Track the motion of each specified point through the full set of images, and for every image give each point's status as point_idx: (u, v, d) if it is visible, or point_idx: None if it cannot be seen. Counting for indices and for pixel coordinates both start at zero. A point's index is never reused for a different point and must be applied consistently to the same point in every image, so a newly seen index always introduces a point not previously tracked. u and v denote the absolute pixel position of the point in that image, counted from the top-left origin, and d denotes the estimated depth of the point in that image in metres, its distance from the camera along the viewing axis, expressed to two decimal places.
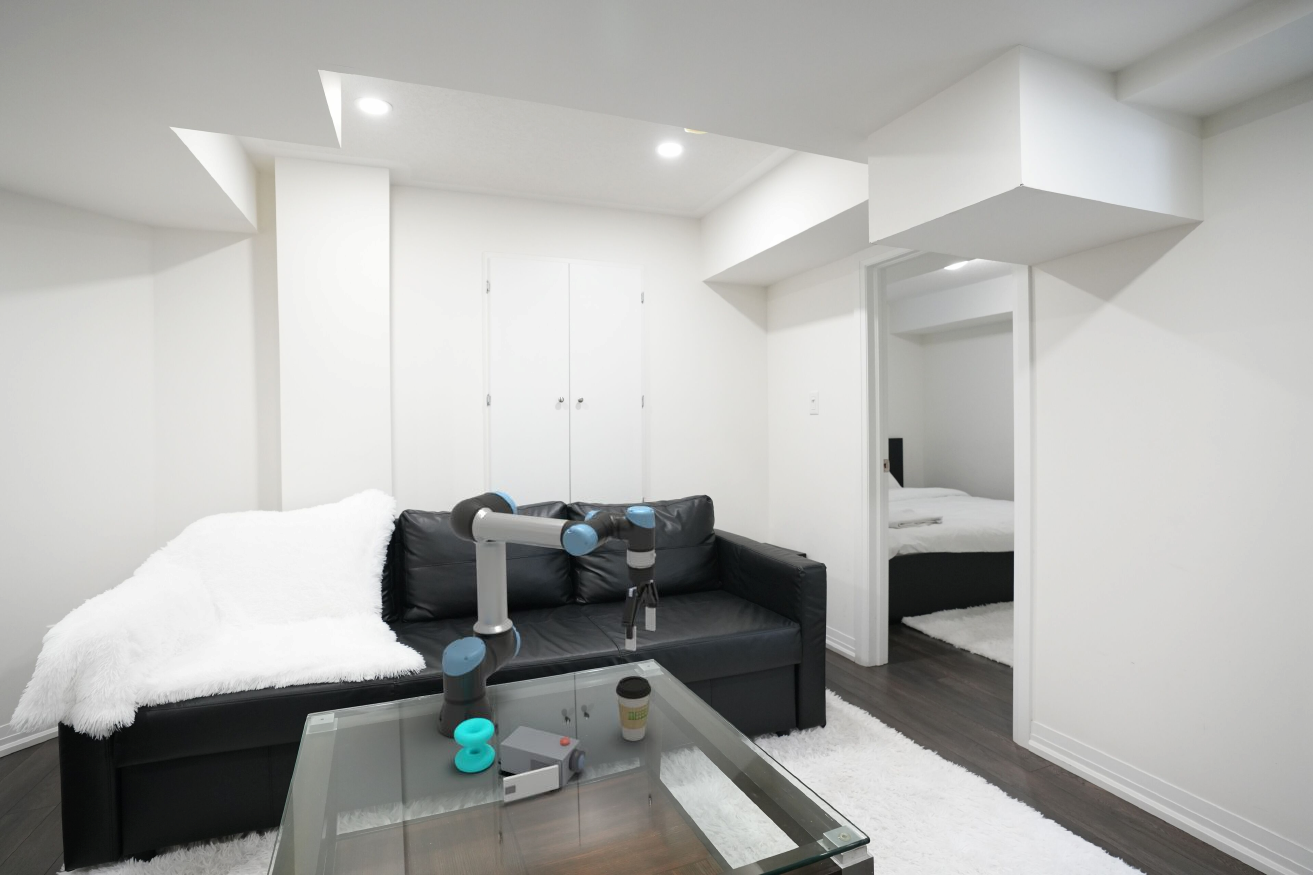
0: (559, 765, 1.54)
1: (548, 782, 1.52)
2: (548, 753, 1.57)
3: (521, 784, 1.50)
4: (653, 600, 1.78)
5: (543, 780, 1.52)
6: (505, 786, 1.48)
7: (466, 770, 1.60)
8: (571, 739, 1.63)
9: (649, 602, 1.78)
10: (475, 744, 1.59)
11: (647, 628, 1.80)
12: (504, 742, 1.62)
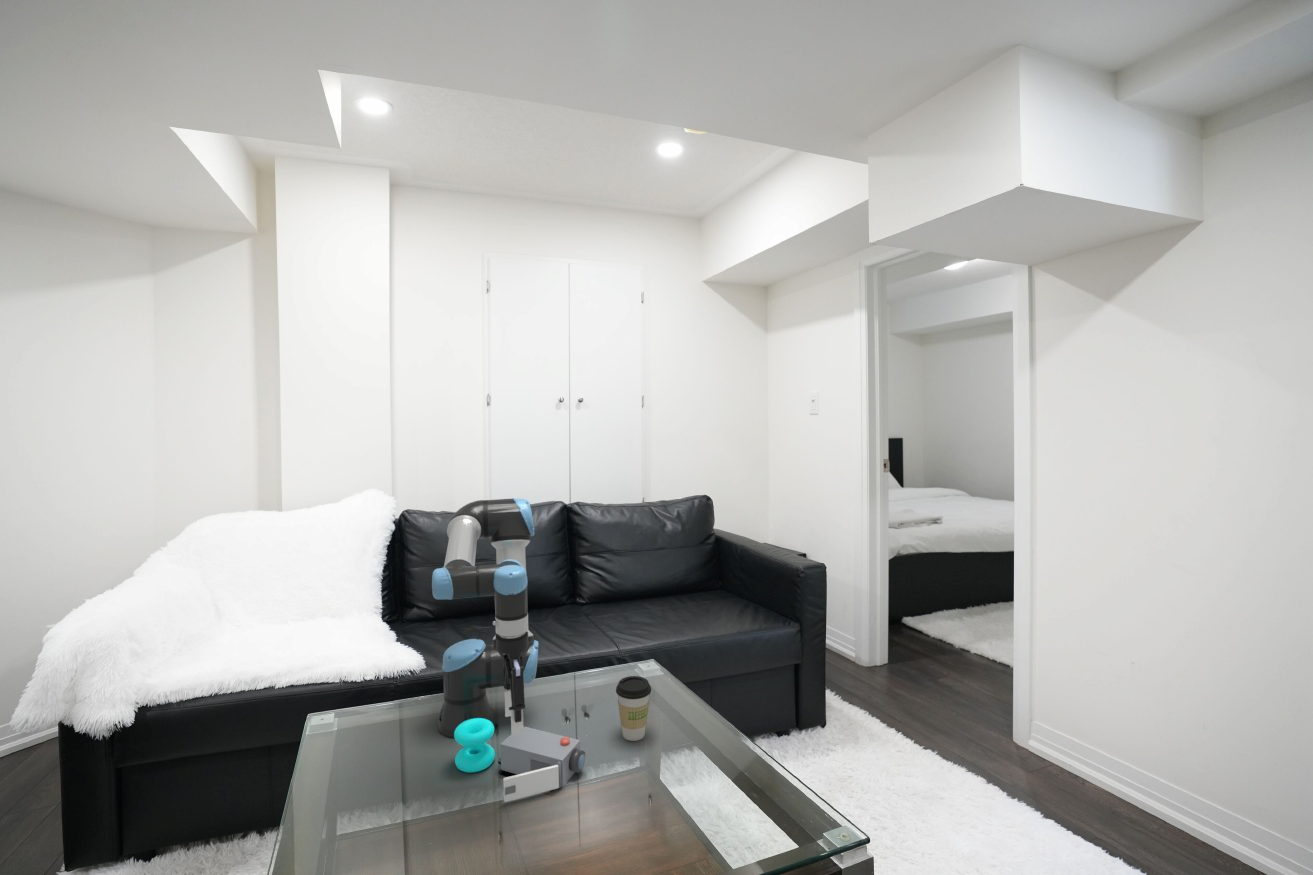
0: (559, 765, 1.54)
1: (548, 782, 1.52)
2: (548, 753, 1.57)
3: (521, 784, 1.50)
4: (511, 695, 1.47)
5: (543, 780, 1.52)
6: (505, 786, 1.48)
7: (466, 770, 1.60)
8: (571, 739, 1.63)
9: None
10: (475, 744, 1.59)
11: None
12: (504, 742, 1.62)
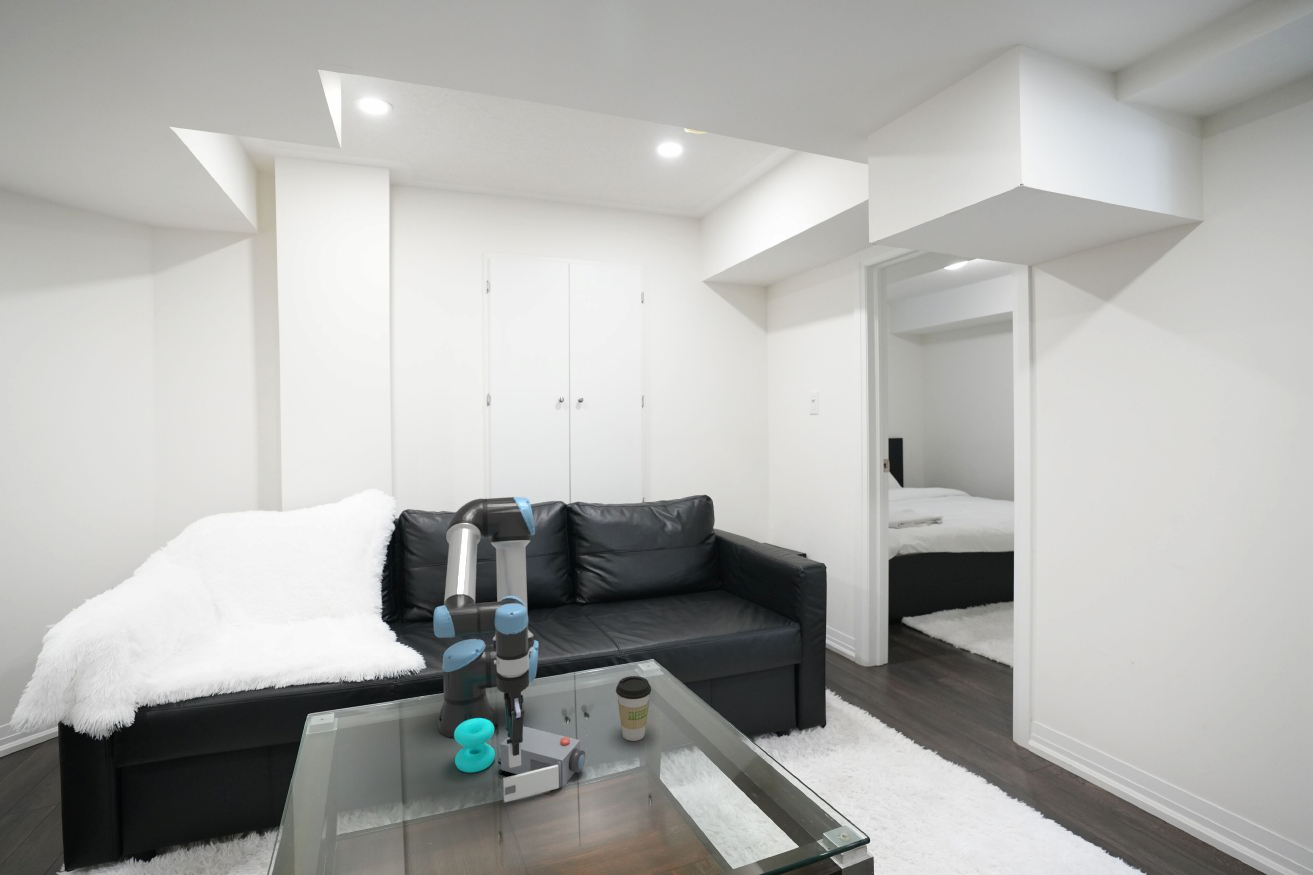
0: (559, 765, 1.54)
1: (548, 782, 1.52)
2: (548, 753, 1.57)
3: (521, 784, 1.50)
4: (510, 730, 1.50)
5: (543, 780, 1.52)
6: (505, 786, 1.48)
7: (466, 770, 1.60)
8: (571, 739, 1.63)
9: None
10: (475, 744, 1.59)
11: None
12: (504, 742, 1.62)
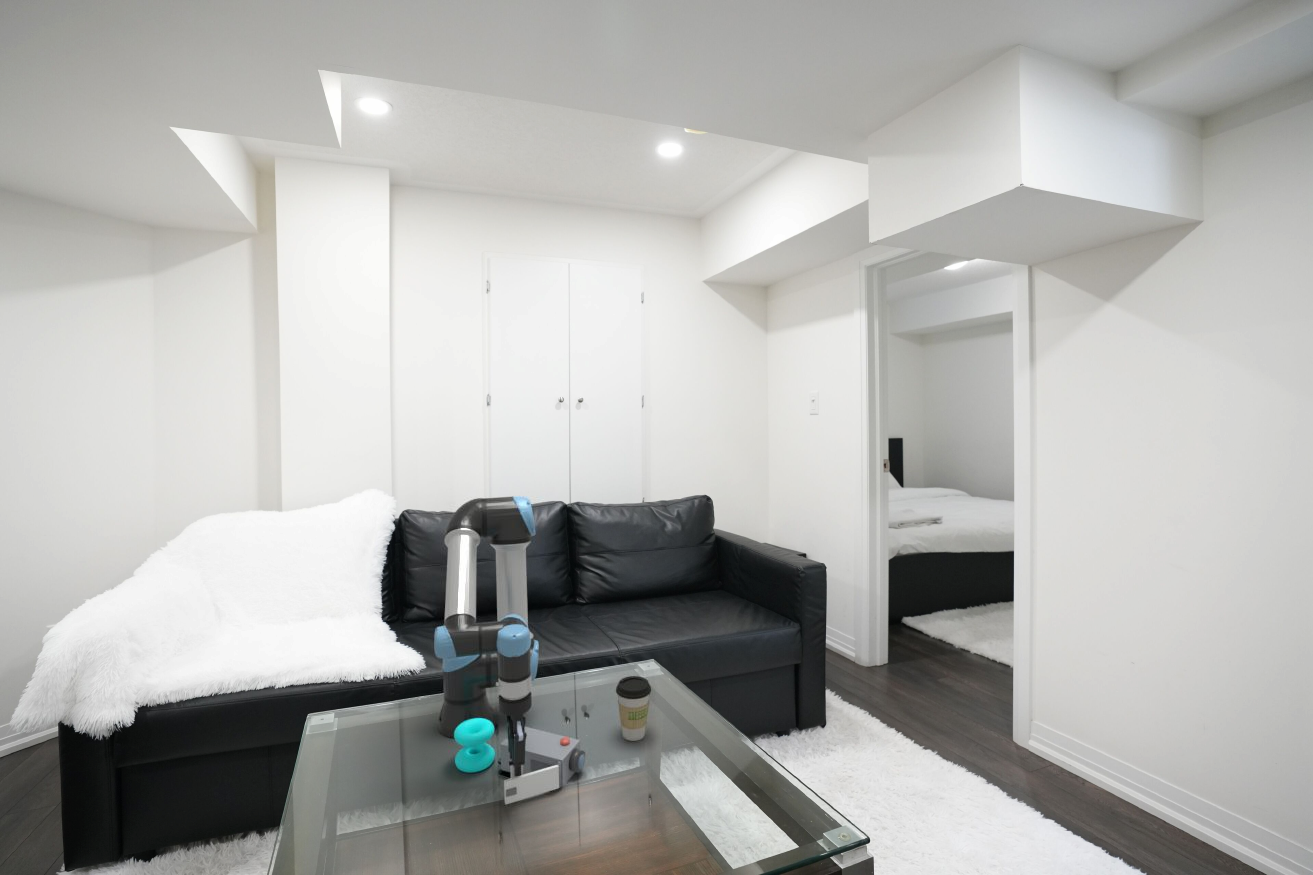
0: (559, 765, 1.54)
1: (549, 782, 1.52)
2: (548, 753, 1.57)
3: (522, 785, 1.49)
4: (512, 752, 1.49)
5: (544, 781, 1.52)
6: (506, 788, 1.47)
7: (466, 770, 1.60)
8: (571, 739, 1.63)
9: None
10: (475, 744, 1.59)
11: None
12: (504, 742, 1.62)
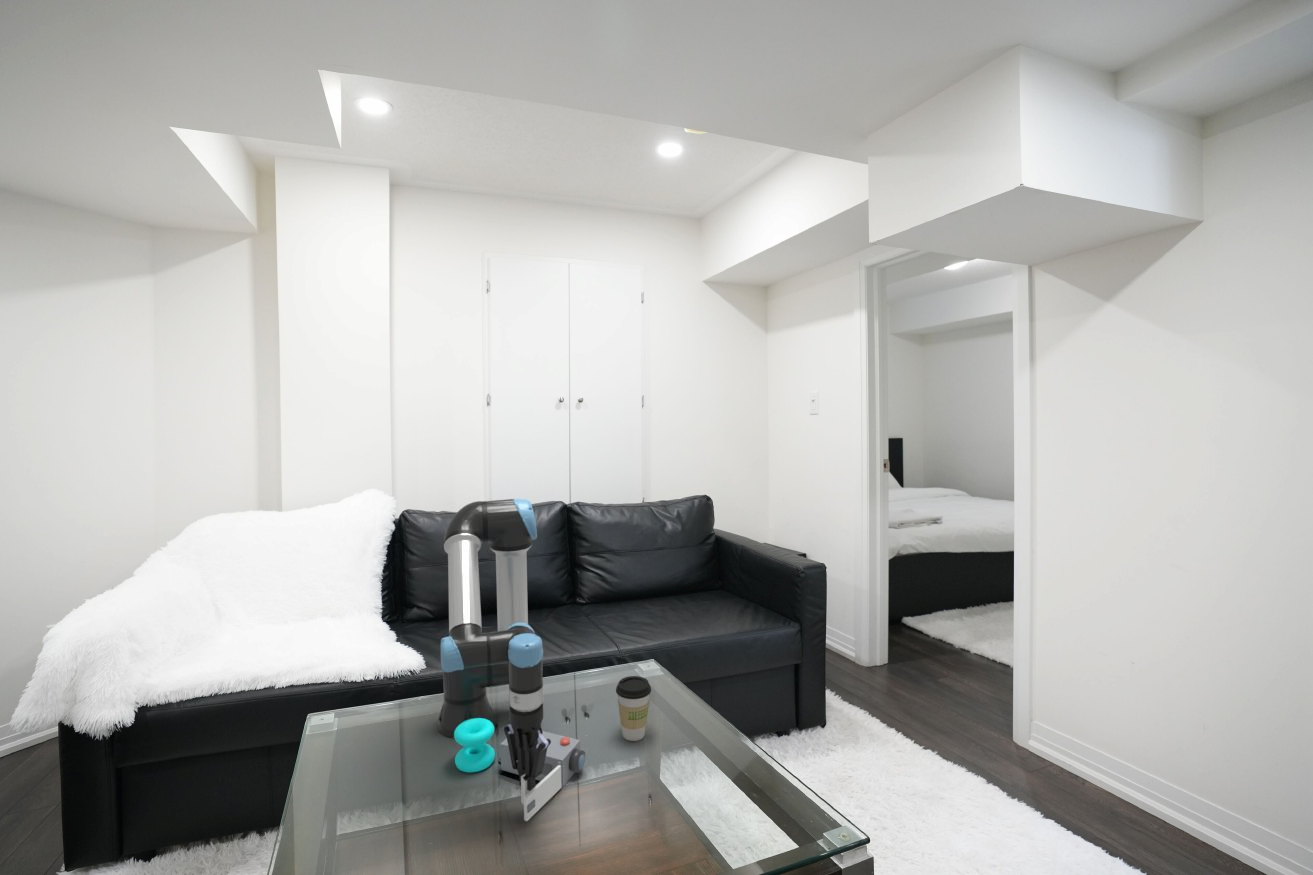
0: (560, 765, 1.54)
1: (555, 785, 1.51)
2: (548, 753, 1.57)
3: (538, 796, 1.46)
4: (527, 765, 1.44)
5: (552, 784, 1.50)
6: (527, 804, 1.42)
7: (466, 770, 1.60)
8: (571, 739, 1.63)
9: None
10: (475, 744, 1.59)
11: None
12: (504, 742, 1.62)
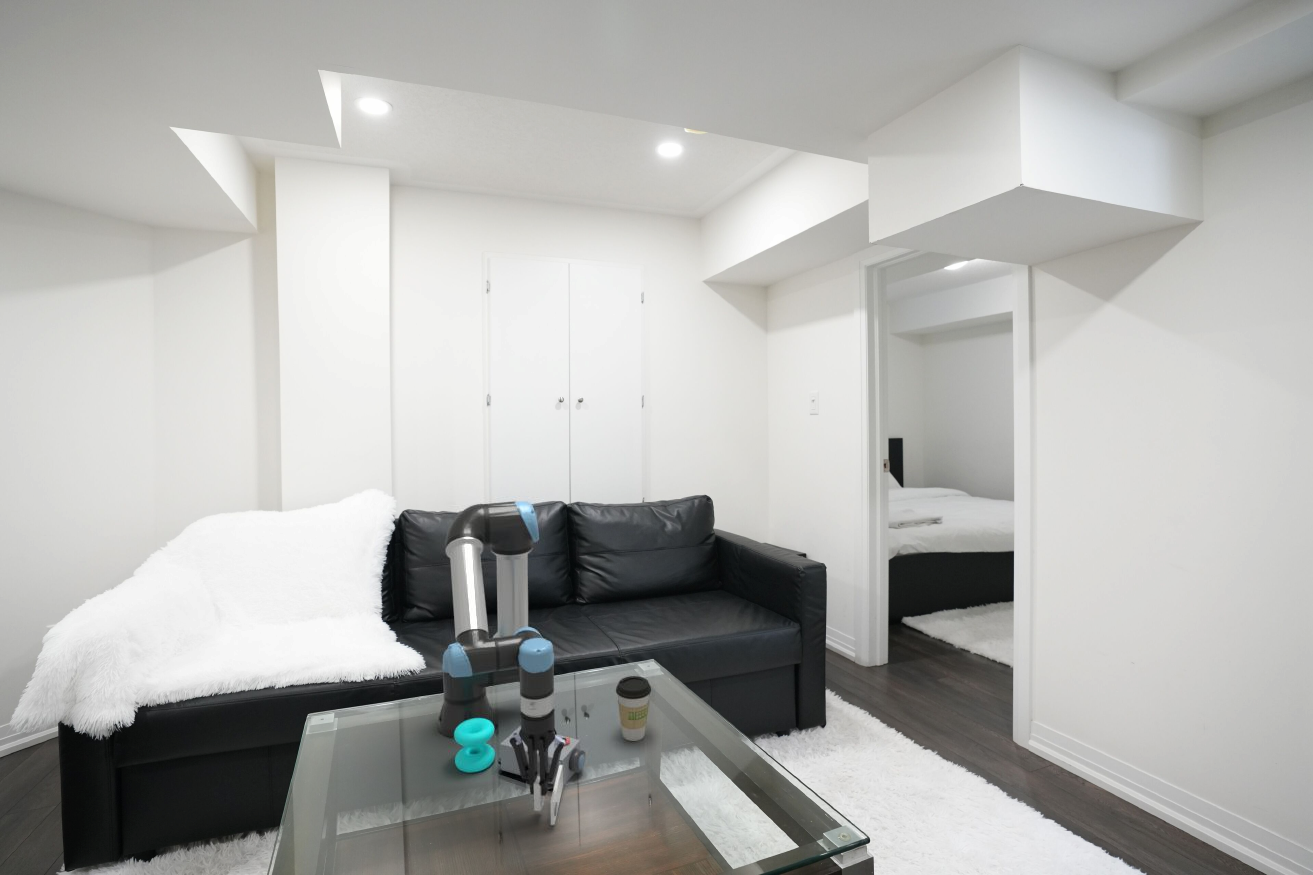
0: (560, 764, 1.54)
1: (561, 784, 1.51)
2: (548, 753, 1.57)
3: (557, 798, 1.45)
4: (542, 771, 1.43)
5: (560, 785, 1.50)
6: (554, 807, 1.41)
7: (466, 770, 1.60)
8: (571, 739, 1.63)
9: None
10: (475, 744, 1.59)
11: None
12: (504, 742, 1.62)
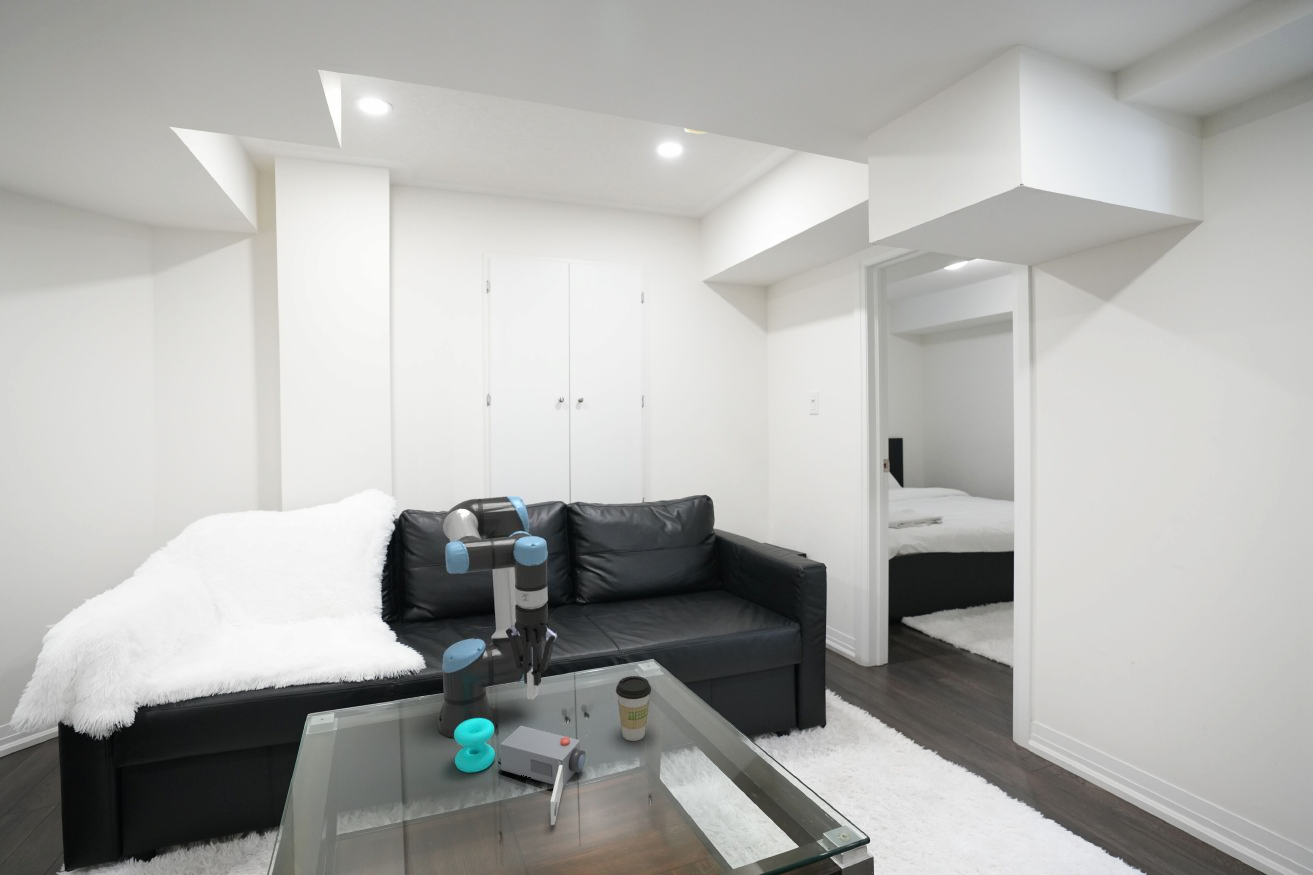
0: (560, 764, 1.54)
1: (561, 784, 1.51)
2: (548, 753, 1.57)
3: (557, 798, 1.45)
4: (534, 661, 1.50)
5: (560, 785, 1.50)
6: (554, 807, 1.41)
7: (466, 770, 1.60)
8: (571, 739, 1.63)
9: None
10: (475, 744, 1.59)
11: None
12: (504, 742, 1.62)
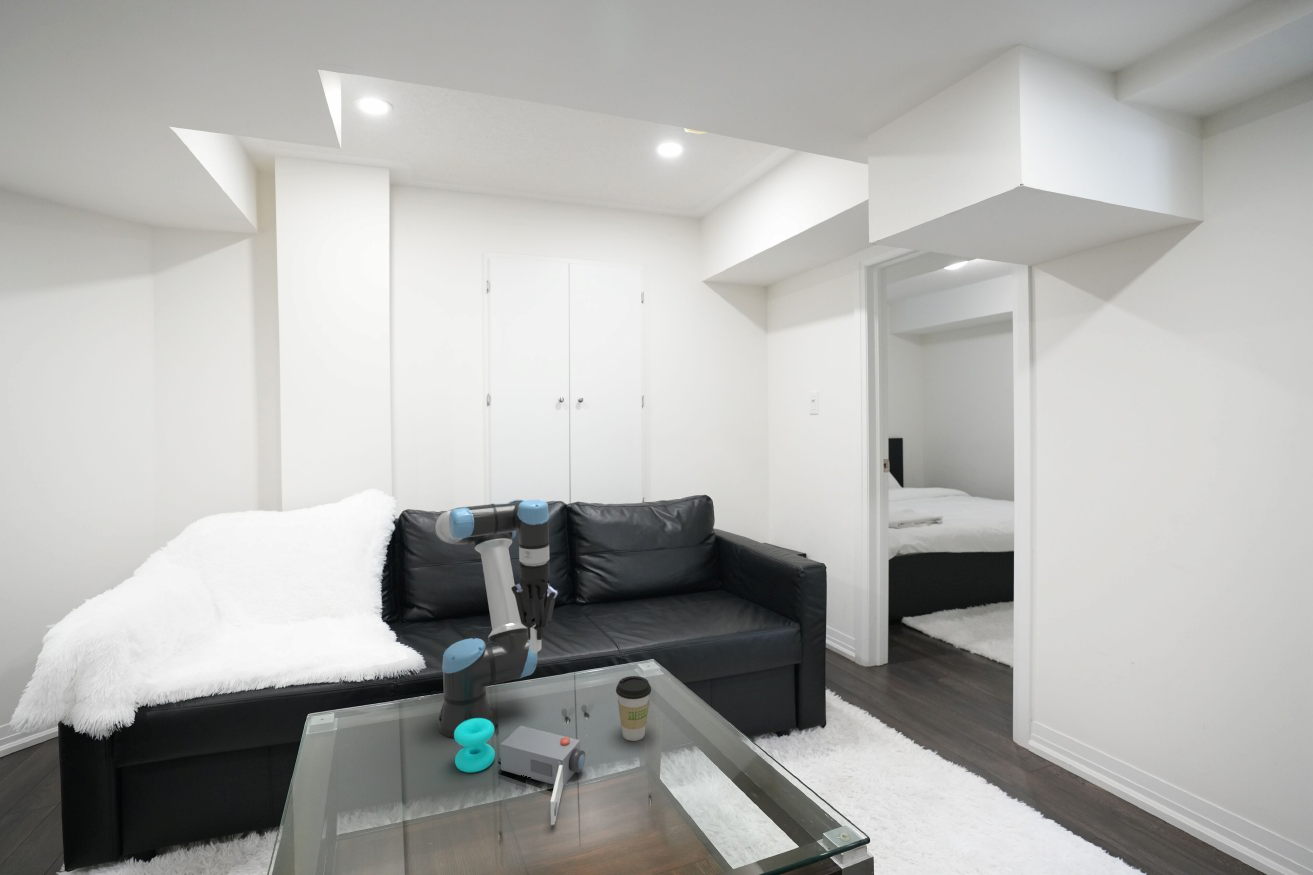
0: (560, 764, 1.54)
1: (561, 784, 1.51)
2: (548, 753, 1.57)
3: (557, 798, 1.45)
4: (537, 616, 1.61)
5: (560, 785, 1.50)
6: (554, 807, 1.41)
7: (466, 770, 1.60)
8: (571, 739, 1.63)
9: None
10: (475, 744, 1.59)
11: None
12: (504, 742, 1.62)
